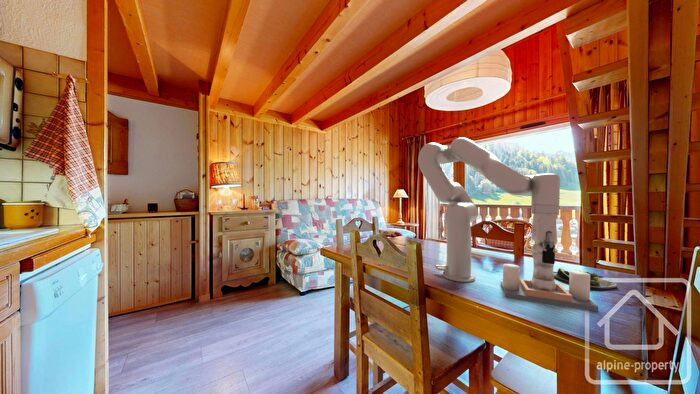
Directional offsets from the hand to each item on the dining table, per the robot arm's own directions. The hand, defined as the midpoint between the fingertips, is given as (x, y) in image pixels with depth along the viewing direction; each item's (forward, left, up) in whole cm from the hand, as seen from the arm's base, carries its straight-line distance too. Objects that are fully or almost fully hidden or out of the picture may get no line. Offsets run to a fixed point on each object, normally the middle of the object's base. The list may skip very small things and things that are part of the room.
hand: (543, 259), depth 85 cm
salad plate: (+18, +24, -14) cm, 33 cm away
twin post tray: (0, 0, -13) cm, 13 cm away
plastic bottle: (0, 0, -12) cm, 12 cm away
